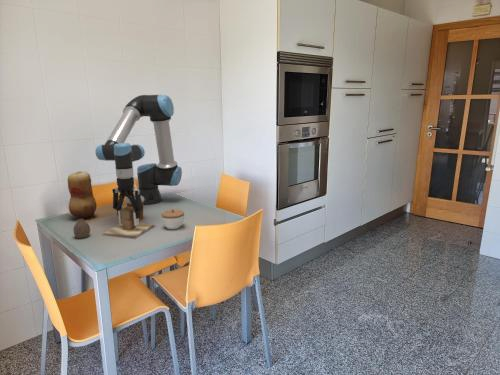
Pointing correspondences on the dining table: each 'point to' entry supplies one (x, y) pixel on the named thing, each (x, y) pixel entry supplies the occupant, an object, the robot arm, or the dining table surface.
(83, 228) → the vase
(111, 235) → the rubber mat
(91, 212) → the butternut squash
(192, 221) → the dining table surface
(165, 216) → the lidded jar
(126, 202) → the disposable coffee cup
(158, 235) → the dining table surface
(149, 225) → the oak lid
